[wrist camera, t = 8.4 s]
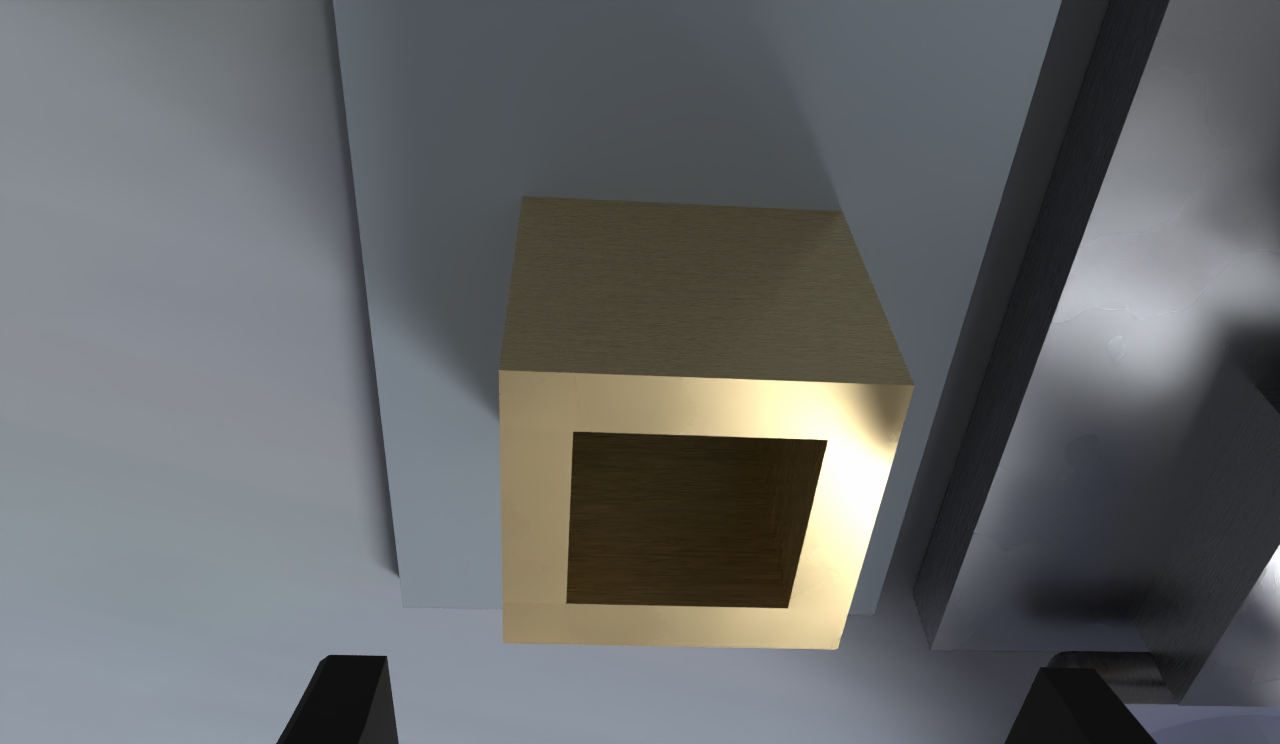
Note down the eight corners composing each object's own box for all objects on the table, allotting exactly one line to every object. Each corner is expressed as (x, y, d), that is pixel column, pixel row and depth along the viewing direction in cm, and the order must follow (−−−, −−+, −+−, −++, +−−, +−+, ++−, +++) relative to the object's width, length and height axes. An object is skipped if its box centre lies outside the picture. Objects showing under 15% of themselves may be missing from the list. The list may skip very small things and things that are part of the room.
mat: (867, 593, 22) (873, 615, 22) (407, 585, 21) (402, 607, 21) (1070, -93, 14) (1087, -82, 13) (327, -140, 13) (317, -130, 13)
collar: (791, 451, 19) (837, 649, 15) (521, 443, 18) (503, 643, 15) (842, 211, 16) (915, 386, 12) (522, 195, 15) (498, 370, 12)
